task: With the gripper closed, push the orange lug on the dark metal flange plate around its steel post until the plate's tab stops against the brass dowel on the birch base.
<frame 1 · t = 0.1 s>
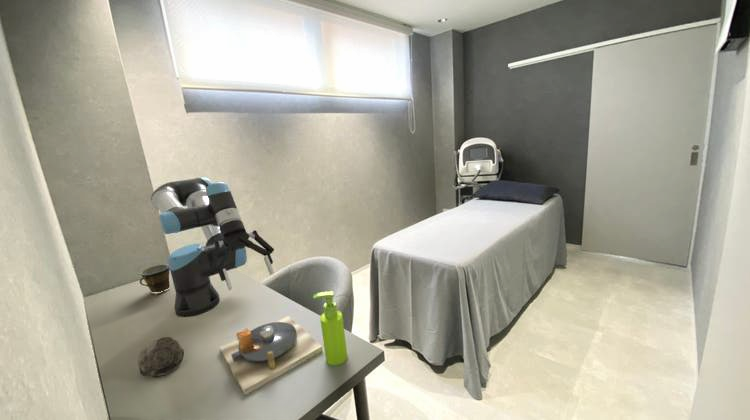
hand: (252, 281, 103), 15 cm above the table, tool tilted 35°, fingers open, 13 cm apart
post base: (270, 351, 93), on the table
ceramic cup: (158, 292, 135), on the table
fossil: (163, 368, 90), on the table
soap dispenser: (334, 358, 88), on the table
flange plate: (263, 335, 90), point 6 cm above the table, hinge at 0.0°
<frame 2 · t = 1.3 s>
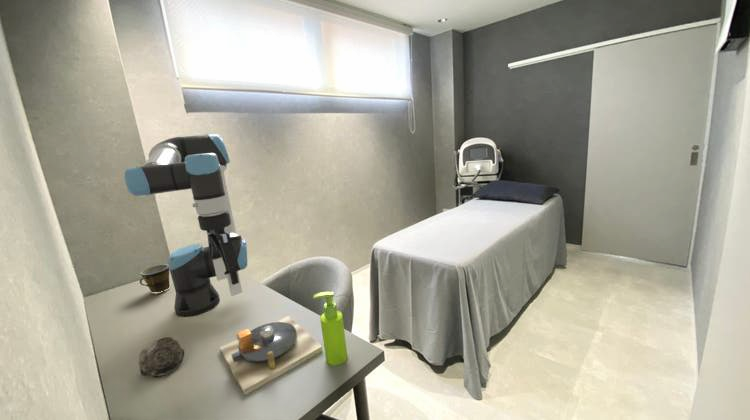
hand: (229, 286, 89), 21 cm above the table, tool pointing down, fingers open, 13 cm apart
nothing on the table moved.
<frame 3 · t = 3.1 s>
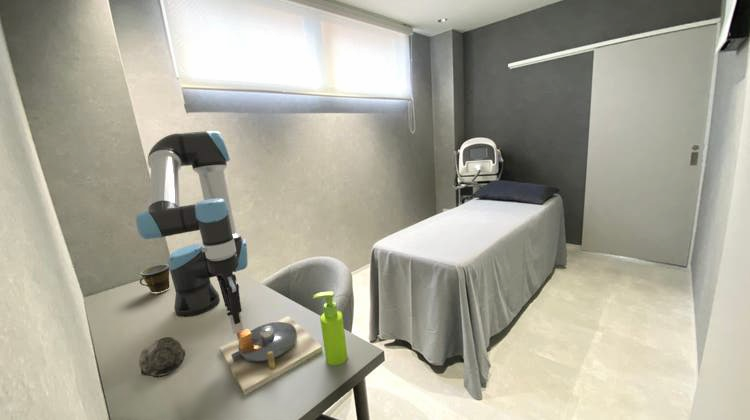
hand: (238, 331, 92), 7 cm above the table, tool pointing down, fingers closed
nothing on the table moved.
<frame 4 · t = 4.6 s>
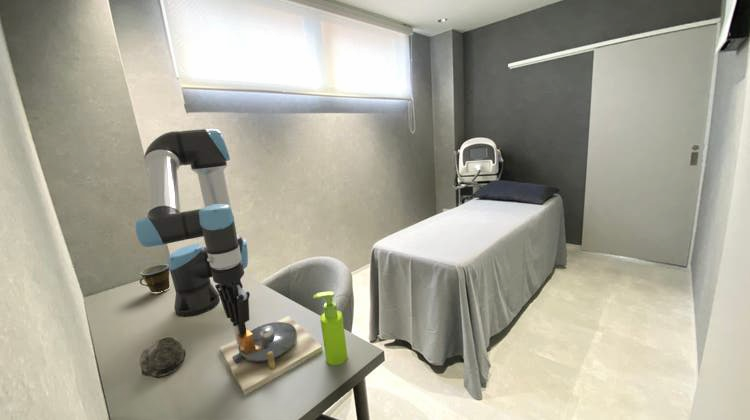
hand: (242, 341, 88), 6 cm above the table, tool pointing down, fingers closed
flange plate: (263, 335, 90), point 6 cm above the table, hinge at 6.8°, touching gripper
everything else where it was.
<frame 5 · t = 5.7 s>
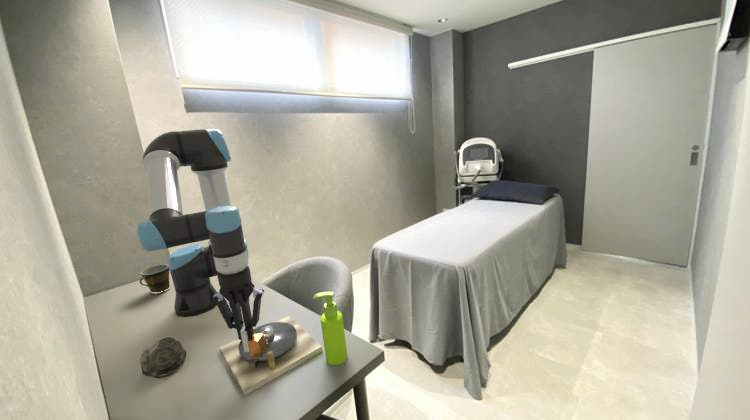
hand: (248, 348, 85), 6 cm above the table, tool pointing down, fingers closed
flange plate: (265, 335, 90), point 6 cm above the table, hinge at 43.8°, touching gripper
everything else where it was.
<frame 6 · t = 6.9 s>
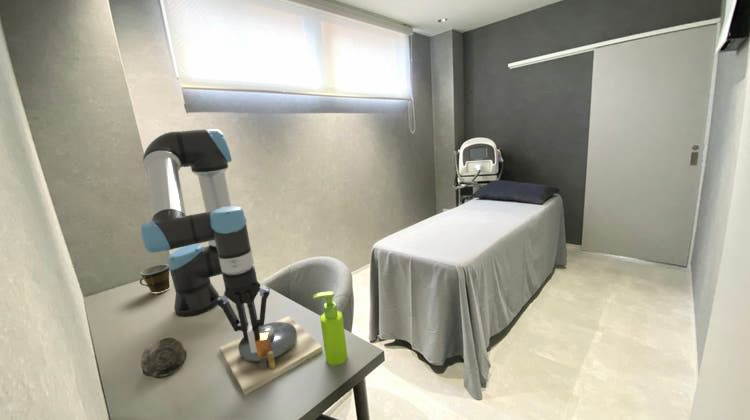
hand: (254, 349, 85), 6 cm above the table, tool pointing down, fingers closed
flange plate: (266, 335, 90), point 6 cm above the table, hinge at 60.5°, touching gripper
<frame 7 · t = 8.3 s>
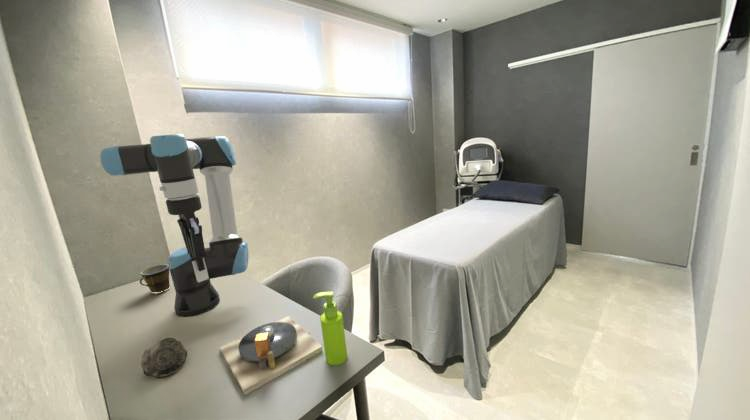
hand: (203, 279, 87), 24 cm above the table, tool pointing down, fingers closed
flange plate: (266, 335, 90), point 6 cm above the table, hinge at 59.7°
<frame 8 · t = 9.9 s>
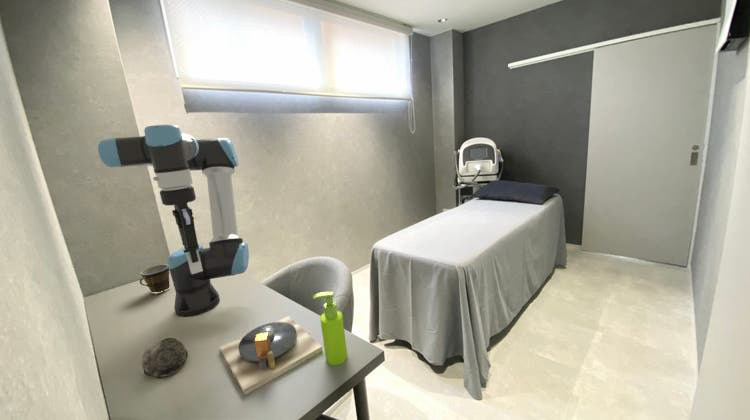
hand: (196, 271, 87), 26 cm above the table, tool pointing down, fingers closed
at the end: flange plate at +60° (first picture: +0°) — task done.
